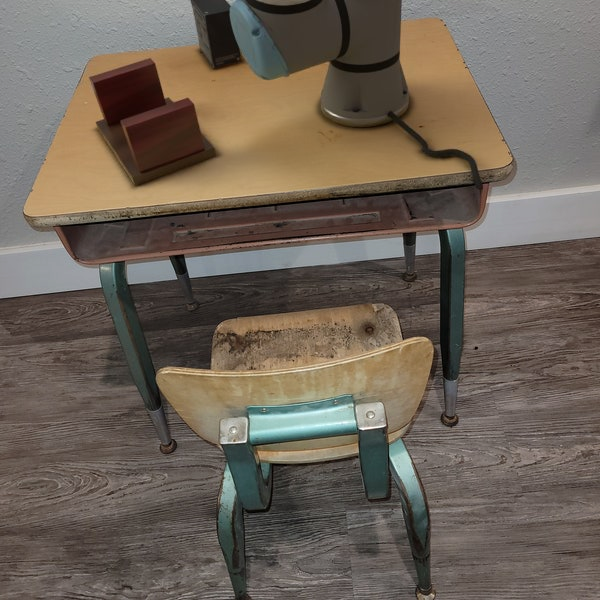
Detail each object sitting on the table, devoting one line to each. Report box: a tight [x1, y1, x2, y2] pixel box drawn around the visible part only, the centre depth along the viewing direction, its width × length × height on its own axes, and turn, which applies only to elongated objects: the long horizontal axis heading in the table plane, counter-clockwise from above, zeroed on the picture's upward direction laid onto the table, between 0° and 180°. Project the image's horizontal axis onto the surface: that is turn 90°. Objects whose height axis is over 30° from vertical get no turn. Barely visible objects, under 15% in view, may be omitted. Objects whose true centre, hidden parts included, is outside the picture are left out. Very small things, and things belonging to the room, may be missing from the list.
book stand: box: [88, 58, 217, 187], centre depth 98 cm, size 21×14×10 cm, turn 29°
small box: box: [190, 0, 242, 69], centre depth 119 cm, size 11×6×10 cm, turn 22°
